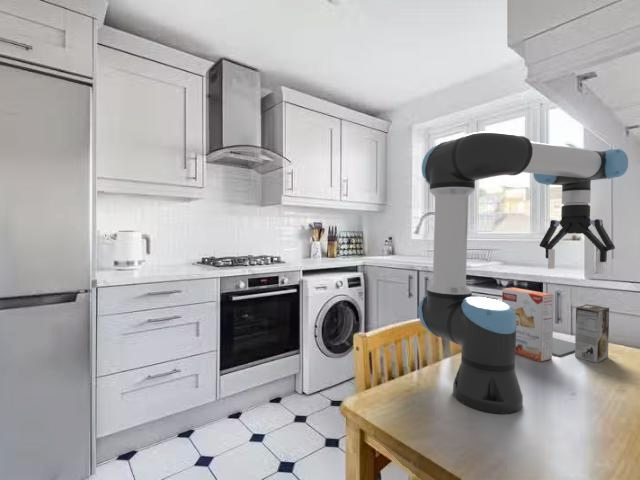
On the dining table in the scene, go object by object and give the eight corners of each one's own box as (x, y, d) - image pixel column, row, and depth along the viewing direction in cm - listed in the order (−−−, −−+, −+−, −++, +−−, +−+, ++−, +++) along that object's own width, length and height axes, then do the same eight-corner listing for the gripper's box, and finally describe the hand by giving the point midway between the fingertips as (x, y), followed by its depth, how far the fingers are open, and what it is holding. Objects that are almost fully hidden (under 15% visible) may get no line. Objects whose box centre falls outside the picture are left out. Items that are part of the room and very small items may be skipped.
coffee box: (585, 351, 119) (586, 303, 118) (608, 357, 114) (610, 307, 113) (573, 356, 114) (575, 307, 113) (598, 363, 108) (599, 310, 108)
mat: (559, 356, 113) (559, 355, 113) (516, 344, 126) (516, 342, 126) (586, 347, 122) (586, 346, 122) (544, 337, 135) (544, 335, 135)
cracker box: (500, 348, 121) (501, 287, 120) (511, 346, 124) (513, 286, 123) (540, 362, 108) (542, 295, 108) (552, 359, 111) (554, 293, 110)
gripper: (629, 202, 105) (627, 273, 106) (540, 207, 126) (539, 266, 127) (619, 201, 101) (617, 275, 102) (529, 206, 122) (528, 267, 123)
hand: (573, 270), depth 114 cm, fingers open, 13 cm apart
